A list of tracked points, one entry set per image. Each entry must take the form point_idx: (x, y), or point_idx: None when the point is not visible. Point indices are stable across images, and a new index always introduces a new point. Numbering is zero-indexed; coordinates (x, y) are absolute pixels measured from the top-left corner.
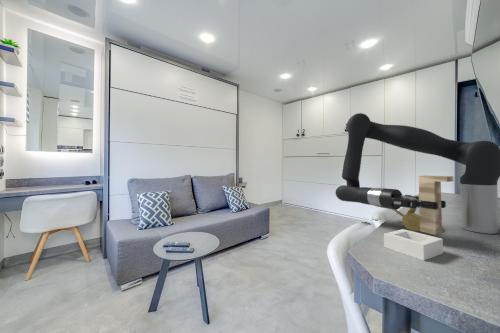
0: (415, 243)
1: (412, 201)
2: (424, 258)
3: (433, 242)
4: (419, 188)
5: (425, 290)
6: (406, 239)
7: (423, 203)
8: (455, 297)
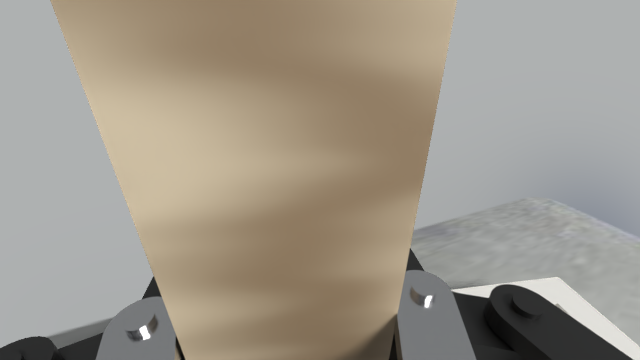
0: (583, 301)
1: (557, 319)
2: None
3: (486, 287)
4: (430, 119)
5: (612, 239)
6: (619, 340)
7: (418, 269)
8: (558, 220)
